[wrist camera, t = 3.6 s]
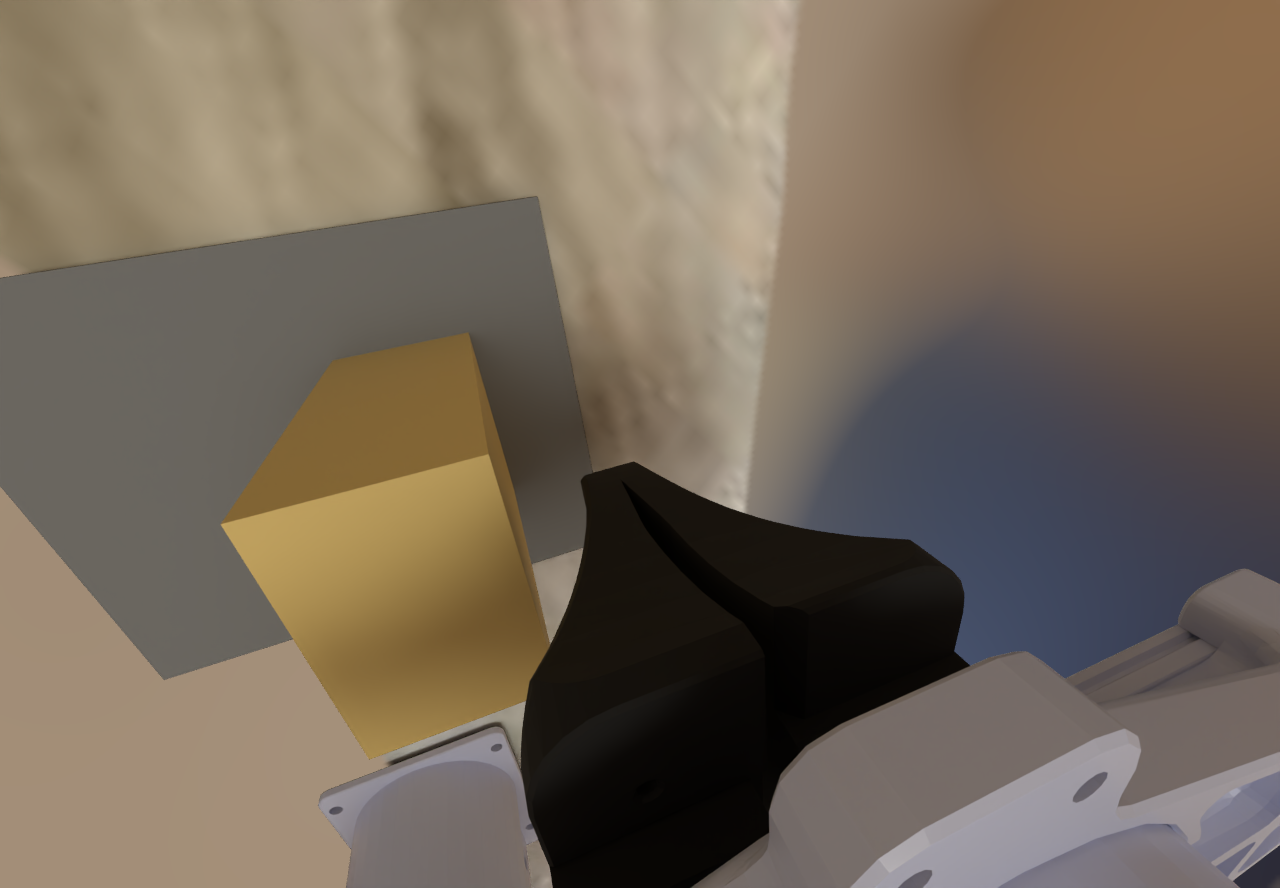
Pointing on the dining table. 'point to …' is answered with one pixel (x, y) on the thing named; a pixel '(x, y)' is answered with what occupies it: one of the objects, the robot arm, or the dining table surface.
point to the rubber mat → (259, 398)
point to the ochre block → (397, 545)
